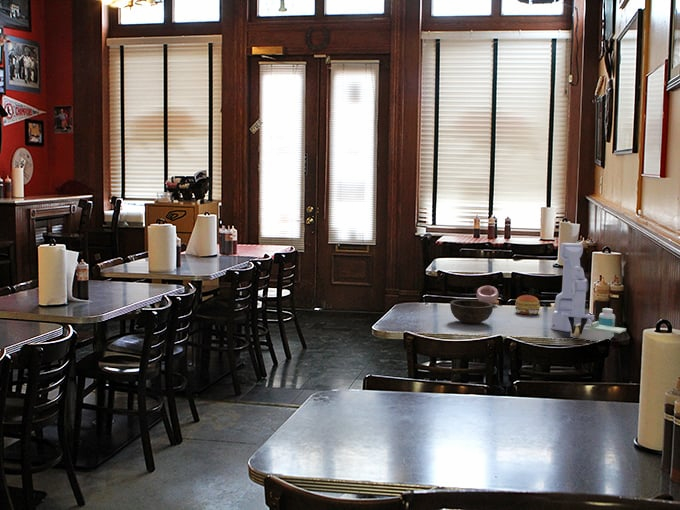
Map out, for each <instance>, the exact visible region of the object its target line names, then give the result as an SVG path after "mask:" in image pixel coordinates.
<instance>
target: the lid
mask: <svg viewBox="0 0 680 510" xmlns="http://www.w3.org/2000/svg"><path fill="white" fill-rule="evenodd" d="M590 325H591V327H590V329H595V330H601V331H607V332H614V334H621V333H623V332H626V331H627V328H626V327H625V328H624V327H618V326H615V327H612V326H606V325H599V320H597V321H593V322H591V323H590Z"/></svg>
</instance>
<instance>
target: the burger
mask: <svg viewBox="0 0 680 510" xmlns="http://www.w3.org/2000/svg"><path fill="white" fill-rule="evenodd" d="M514 304H515V307H514V309H515V311H516V313H518V314H521V315H522V314H523V315H537V314H538V313H539V311H540V308H541V304H540V300H539V299H538V298H537V297H536V296H533V295H531V294H524V295H520V296H518V297H517V298H516V299H515V303H514Z"/></svg>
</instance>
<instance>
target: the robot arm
mask: <svg viewBox="0 0 680 510" xmlns="http://www.w3.org/2000/svg"><path fill="white" fill-rule="evenodd" d="M583 252H584V247H583V244H582V243H580V242H578V243H576V242H574V243H573V242H572V243H571V242H562V243H560V246H559V258H560V259H562V261H563V266H562V267H563V268H562V283H561V284H562V285H561V292H560V293H558V294H557V295H556V296H555V301H554V309H555V310H554V311H553V313H552V317H551V327H550V329H551V330H556V331H560V332H561V331H562V332H567V333H568V332H570V333H571V329H572V334H574V325H575V319H580V324H581V327H580V334H582V331H583V328H584V326H585V324H587V322H588V320H592V321H595V315H594V314H587V313H586V314H585V312H586V311H585V310H586V297H587V292H588V290H589V282H588V279H587V277H585V272H584V271H585V270H584V268H583V267H582V266H581V259H580V258H582V255H583Z"/></svg>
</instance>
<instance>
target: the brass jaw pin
mask: <svg viewBox="0 0 680 510" xmlns="http://www.w3.org/2000/svg"><path fill="white" fill-rule="evenodd" d="M580 327H581V326H580V325H576V324H574V334H573V337H576V338H579V337H580Z"/></svg>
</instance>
